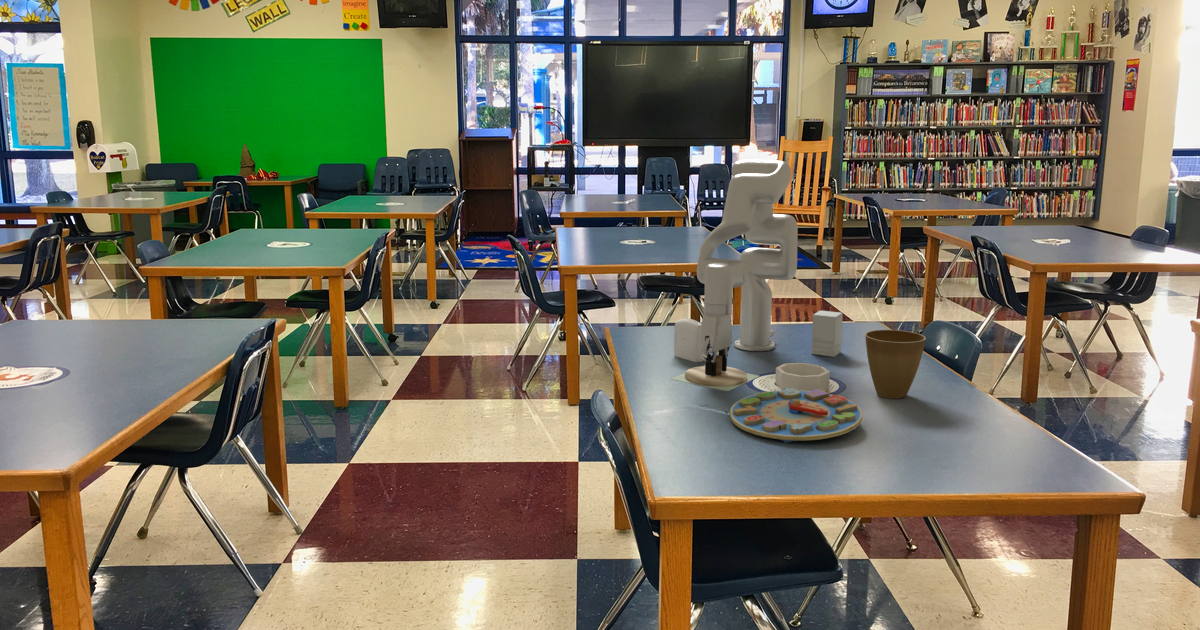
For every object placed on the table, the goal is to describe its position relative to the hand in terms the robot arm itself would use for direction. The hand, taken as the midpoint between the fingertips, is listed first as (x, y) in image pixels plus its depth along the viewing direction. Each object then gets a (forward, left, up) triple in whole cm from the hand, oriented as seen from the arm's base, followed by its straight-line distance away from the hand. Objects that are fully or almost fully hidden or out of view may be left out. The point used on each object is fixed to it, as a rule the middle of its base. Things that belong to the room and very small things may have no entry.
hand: (715, 372), depth 244 cm
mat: (0, 0, -2) cm, 2 cm away
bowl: (-8, +22, -2) cm, 23 cm away
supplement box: (-46, +12, -2) cm, 48 cm away
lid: (0, 0, -1) cm, 1 cm away
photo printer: (-13, -17, -2) cm, 22 cm away
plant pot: (-17, +43, -2) cm, 46 cm away
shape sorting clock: (+19, +33, -3) cm, 38 cm away
